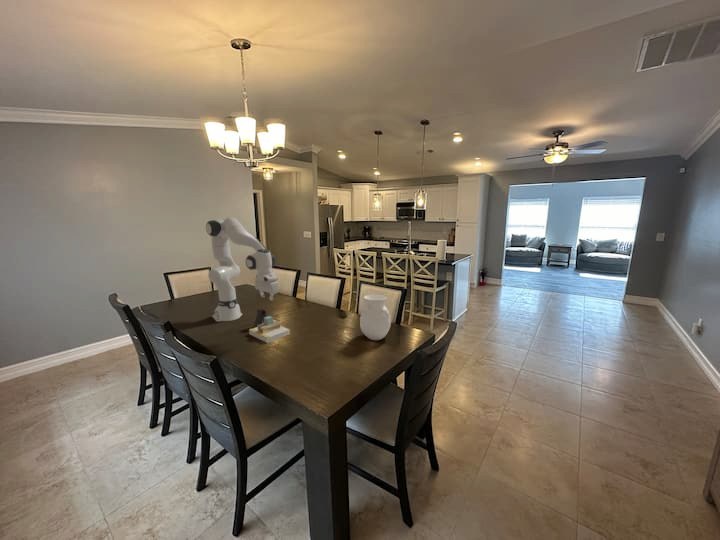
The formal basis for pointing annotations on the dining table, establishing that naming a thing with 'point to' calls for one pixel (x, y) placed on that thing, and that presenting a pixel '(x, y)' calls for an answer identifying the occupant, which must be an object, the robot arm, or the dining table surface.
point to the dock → (269, 334)
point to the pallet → (268, 327)
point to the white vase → (375, 317)
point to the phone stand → (260, 317)
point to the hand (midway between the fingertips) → (266, 298)
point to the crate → (268, 320)
